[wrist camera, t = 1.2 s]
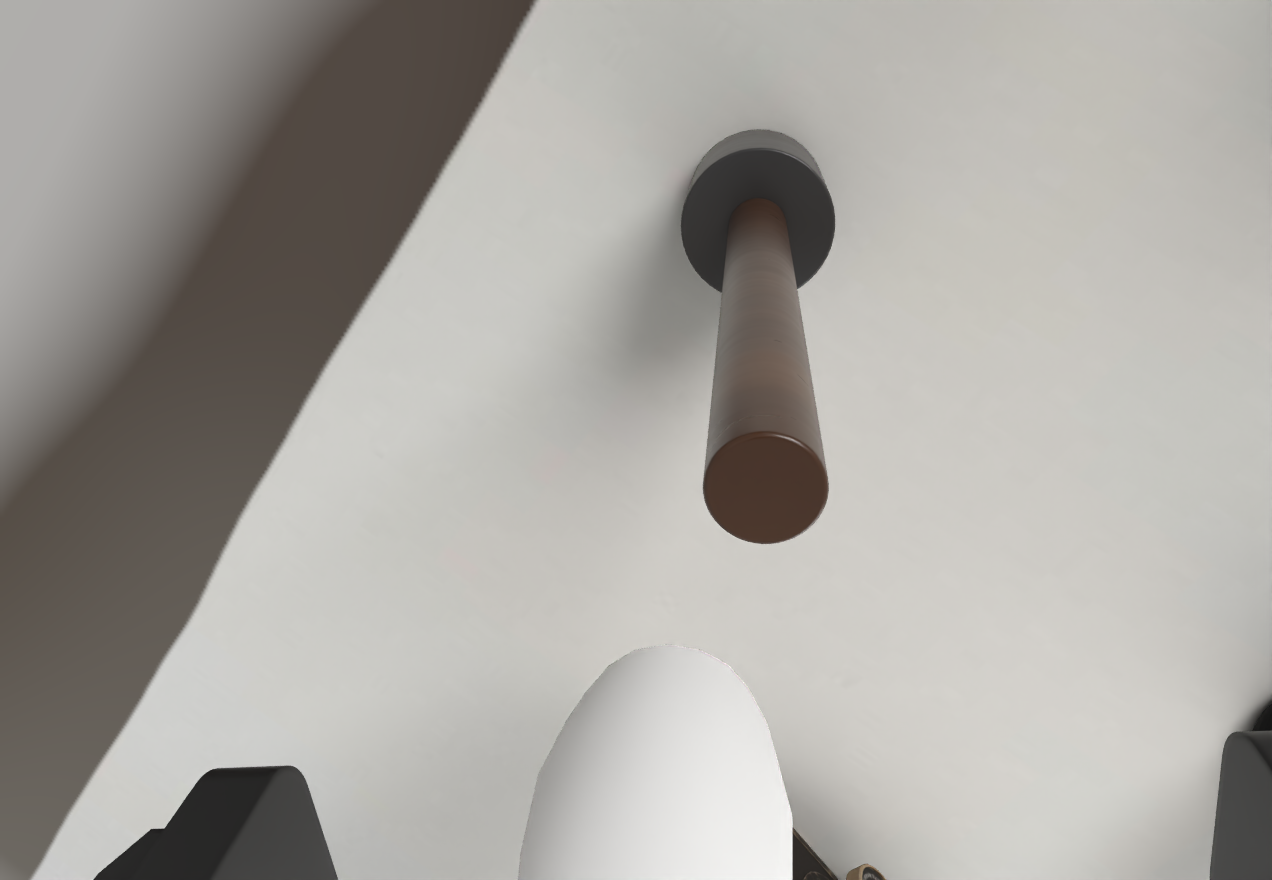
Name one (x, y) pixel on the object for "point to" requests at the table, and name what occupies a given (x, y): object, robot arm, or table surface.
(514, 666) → the table surface
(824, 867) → the camera
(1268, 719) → the webcam
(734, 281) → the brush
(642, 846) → the white tall cylinder
